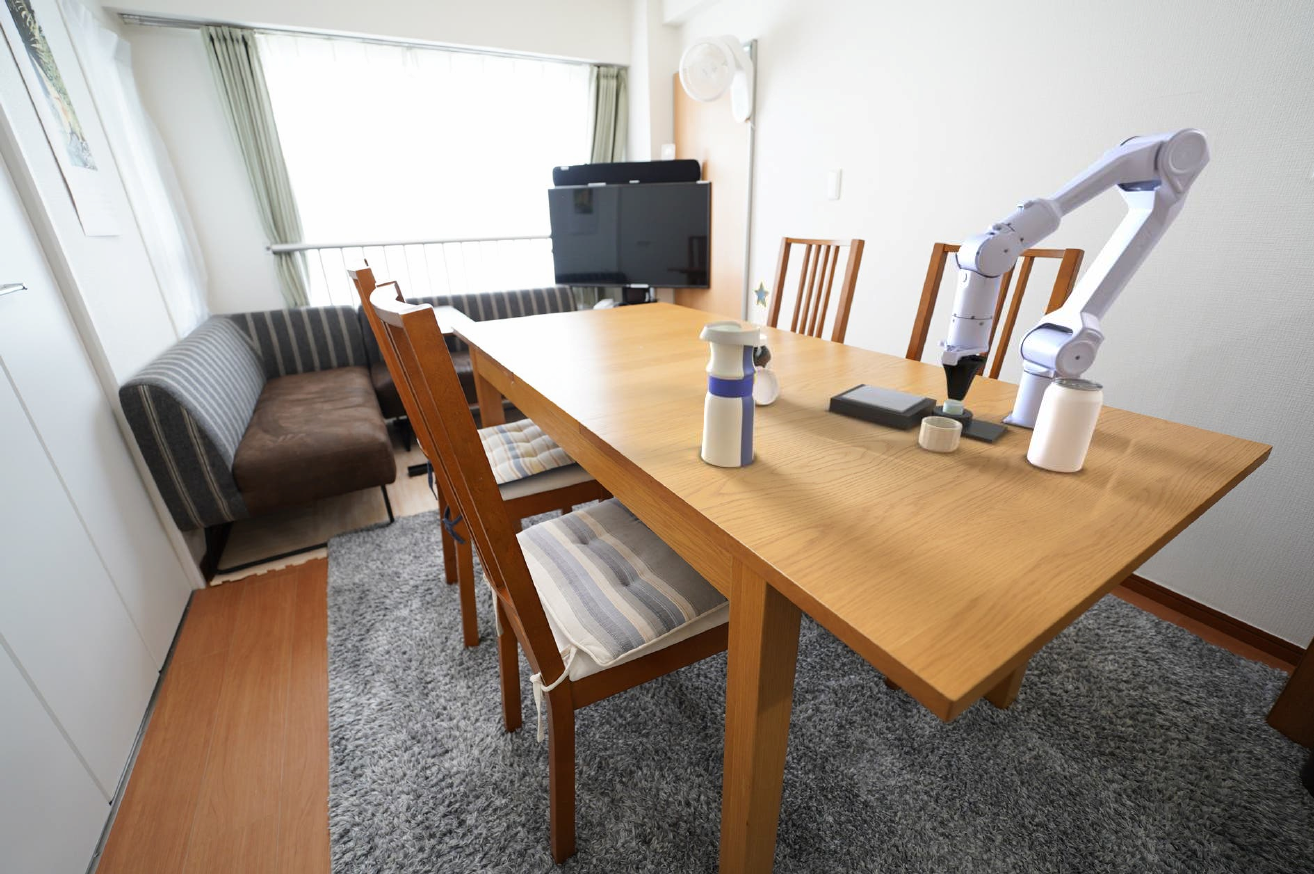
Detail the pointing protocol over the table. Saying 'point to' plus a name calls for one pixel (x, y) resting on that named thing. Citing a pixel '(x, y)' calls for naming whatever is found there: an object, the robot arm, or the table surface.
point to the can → (1065, 424)
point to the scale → (883, 406)
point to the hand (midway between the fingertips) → (955, 399)
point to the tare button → (953, 407)
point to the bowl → (940, 434)
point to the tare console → (973, 425)
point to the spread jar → (764, 375)
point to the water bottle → (730, 392)
